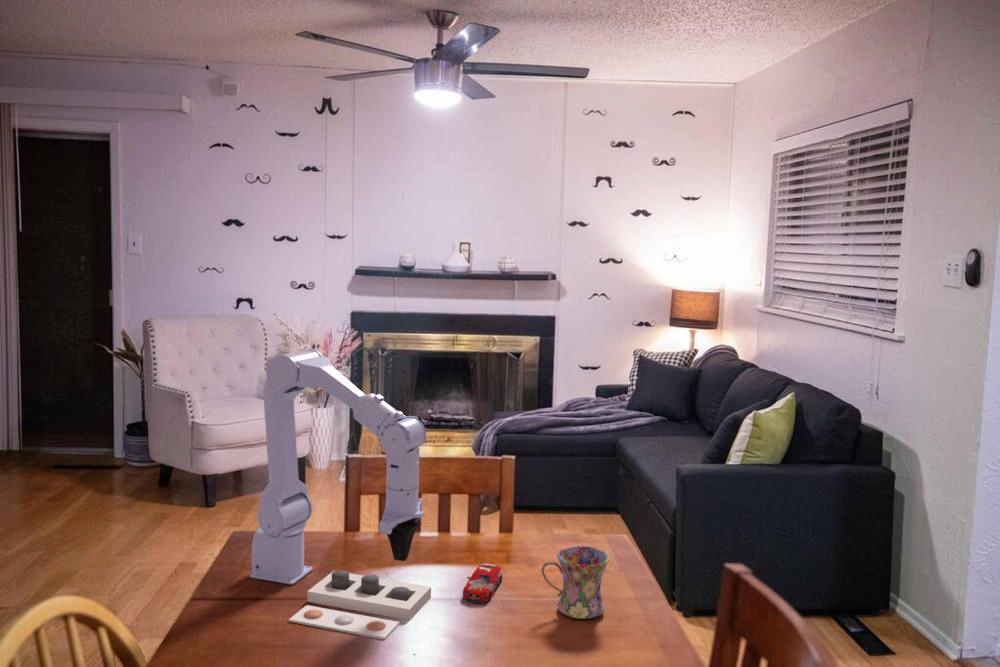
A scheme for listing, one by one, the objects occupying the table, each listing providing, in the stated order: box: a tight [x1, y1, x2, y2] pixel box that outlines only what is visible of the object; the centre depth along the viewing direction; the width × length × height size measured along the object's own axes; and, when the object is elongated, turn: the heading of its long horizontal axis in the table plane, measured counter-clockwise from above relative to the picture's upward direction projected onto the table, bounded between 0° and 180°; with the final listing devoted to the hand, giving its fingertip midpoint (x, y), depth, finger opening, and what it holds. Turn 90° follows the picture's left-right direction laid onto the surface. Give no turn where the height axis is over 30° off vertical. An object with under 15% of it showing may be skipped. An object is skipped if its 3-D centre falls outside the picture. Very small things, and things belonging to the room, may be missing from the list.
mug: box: [541, 545, 610, 620], centre depth 159 cm, size 12×9×11 cm
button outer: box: [391, 587, 409, 601], centre depth 160 cm, size 3×3×2 cm
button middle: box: [361, 574, 380, 596], centre depth 161 cm, size 3×3×2 cm
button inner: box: [331, 569, 350, 591], centre depth 163 cm, size 3×3×2 cm
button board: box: [306, 570, 432, 621], centre depth 162 cm, size 20×10×2 cm, turn 73°
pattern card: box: [288, 604, 400, 641], centre depth 152 cm, size 18×6×1 cm, turn 73°
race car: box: [462, 563, 503, 603], centre depth 168 cm, size 13×5×4 cm, turn 164°
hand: (400, 559), depth 159 cm, fingers closed
